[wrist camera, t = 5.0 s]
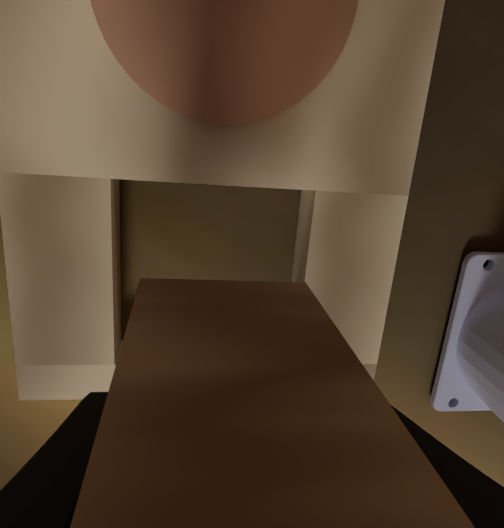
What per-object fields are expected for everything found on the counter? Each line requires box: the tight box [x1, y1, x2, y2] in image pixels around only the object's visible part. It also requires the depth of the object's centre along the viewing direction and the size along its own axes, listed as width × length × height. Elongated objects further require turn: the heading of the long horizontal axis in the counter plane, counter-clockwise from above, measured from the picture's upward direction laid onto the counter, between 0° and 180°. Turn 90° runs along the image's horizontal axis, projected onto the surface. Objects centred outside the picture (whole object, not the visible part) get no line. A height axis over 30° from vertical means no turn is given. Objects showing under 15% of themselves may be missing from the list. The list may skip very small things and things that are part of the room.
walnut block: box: [70, 278, 475, 528], centre depth 8 cm, size 4×4×8 cm
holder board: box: [0, 0, 445, 400], centre depth 16 cm, size 14×19×2 cm
